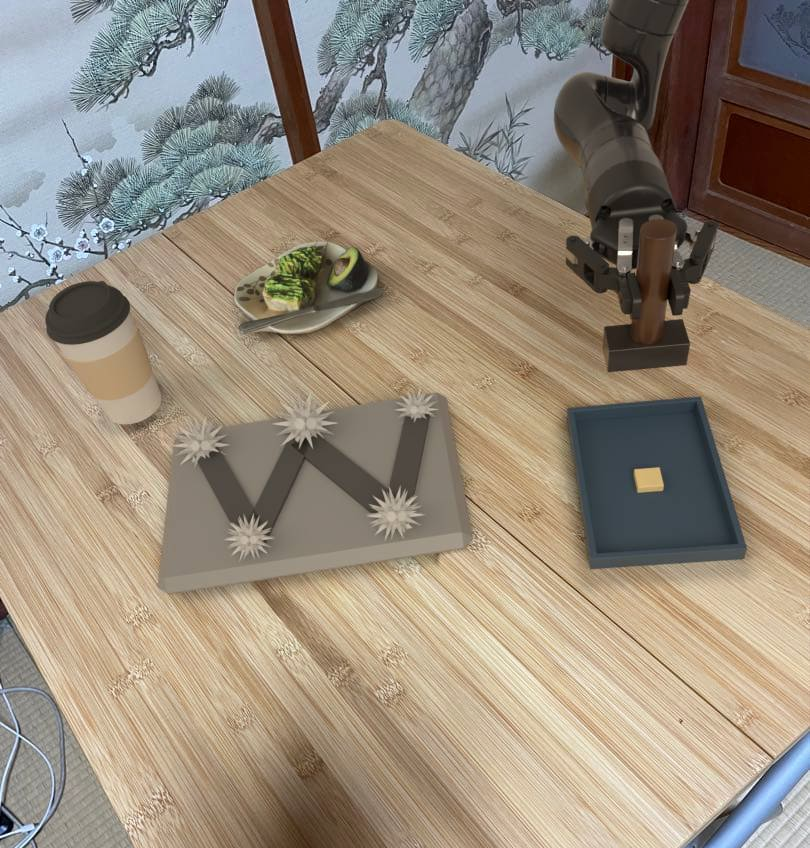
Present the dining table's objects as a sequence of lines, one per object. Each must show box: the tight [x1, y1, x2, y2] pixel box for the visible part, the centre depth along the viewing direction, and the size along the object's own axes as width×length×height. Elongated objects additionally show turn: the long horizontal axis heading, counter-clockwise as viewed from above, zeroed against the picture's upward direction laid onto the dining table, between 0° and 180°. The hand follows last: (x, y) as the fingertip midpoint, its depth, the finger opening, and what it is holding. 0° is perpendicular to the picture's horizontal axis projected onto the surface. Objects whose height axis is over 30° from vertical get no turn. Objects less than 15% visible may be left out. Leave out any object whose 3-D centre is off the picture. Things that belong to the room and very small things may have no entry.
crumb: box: [634, 467, 664, 493], centre depth 79 cm, size 2×2×1 cm
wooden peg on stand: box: [602, 219, 691, 373], centre depth 71 cm, size 4×7×13 cm, turn 89°
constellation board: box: [157, 386, 474, 596], centre depth 82 cm, size 30×22×7 cm
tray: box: [566, 396, 748, 570], centre depth 79 cm, size 19×13×2 cm
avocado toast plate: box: [233, 240, 386, 335], centre depth 104 cm, size 19×18×5 cm
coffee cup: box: [44, 280, 163, 426], centre depth 92 cm, size 9×9×15 cm
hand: (658, 308), depth 69 cm, fingers closed on wooden peg on stand, 3 cm apart
